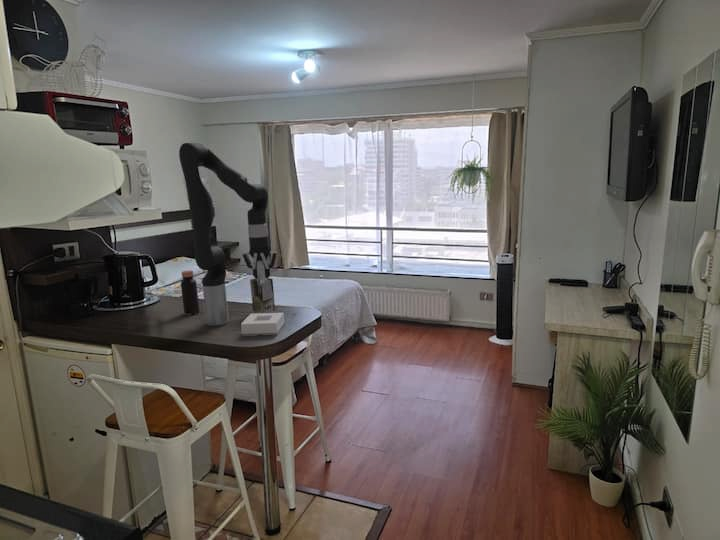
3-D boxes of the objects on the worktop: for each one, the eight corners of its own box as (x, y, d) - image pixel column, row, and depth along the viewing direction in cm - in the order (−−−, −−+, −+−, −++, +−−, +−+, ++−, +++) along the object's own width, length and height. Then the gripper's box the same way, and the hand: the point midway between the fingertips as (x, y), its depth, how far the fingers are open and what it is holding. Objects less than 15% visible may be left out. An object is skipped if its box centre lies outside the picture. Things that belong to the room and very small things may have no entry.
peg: (256, 285, 184) (254, 261, 182) (259, 283, 188) (256, 259, 186) (266, 285, 184) (264, 260, 182) (268, 283, 188) (266, 258, 186)
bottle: (181, 314, 216) (176, 272, 212) (193, 310, 221) (189, 269, 217) (190, 316, 212) (185, 273, 208) (202, 312, 217) (198, 270, 213)
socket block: (242, 336, 181) (240, 324, 180) (251, 324, 195) (250, 313, 194) (277, 335, 181) (276, 323, 180) (284, 324, 194) (283, 312, 193)
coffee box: (276, 313, 211) (273, 278, 208) (264, 316, 206) (261, 281, 203) (264, 309, 217) (261, 276, 214) (252, 313, 213) (249, 278, 209)
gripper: (237, 237, 179) (242, 280, 182) (274, 235, 178) (277, 279, 182) (243, 234, 186) (247, 276, 190) (278, 233, 186) (281, 275, 189)
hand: (262, 277), depth 186 cm, fingers closed on peg, 4 cm apart
